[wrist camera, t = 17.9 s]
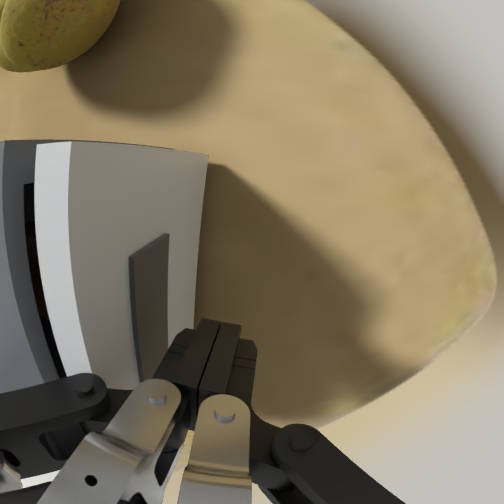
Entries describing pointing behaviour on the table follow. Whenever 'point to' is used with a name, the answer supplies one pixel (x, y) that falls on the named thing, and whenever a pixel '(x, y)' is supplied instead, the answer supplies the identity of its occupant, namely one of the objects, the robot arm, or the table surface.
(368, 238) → the table surface
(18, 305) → the grey open box
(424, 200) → the table surface
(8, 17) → the fruit
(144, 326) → the grey flat-panelled piece
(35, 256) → the block
